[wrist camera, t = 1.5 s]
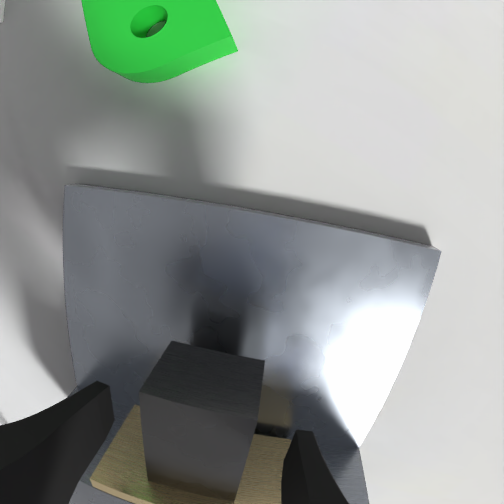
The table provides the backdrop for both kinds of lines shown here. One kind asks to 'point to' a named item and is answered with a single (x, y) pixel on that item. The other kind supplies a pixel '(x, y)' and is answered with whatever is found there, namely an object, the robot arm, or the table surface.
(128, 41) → the mechanical part
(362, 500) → the block
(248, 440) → the grey and tan block
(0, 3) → the triangle block
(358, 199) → the table surface
